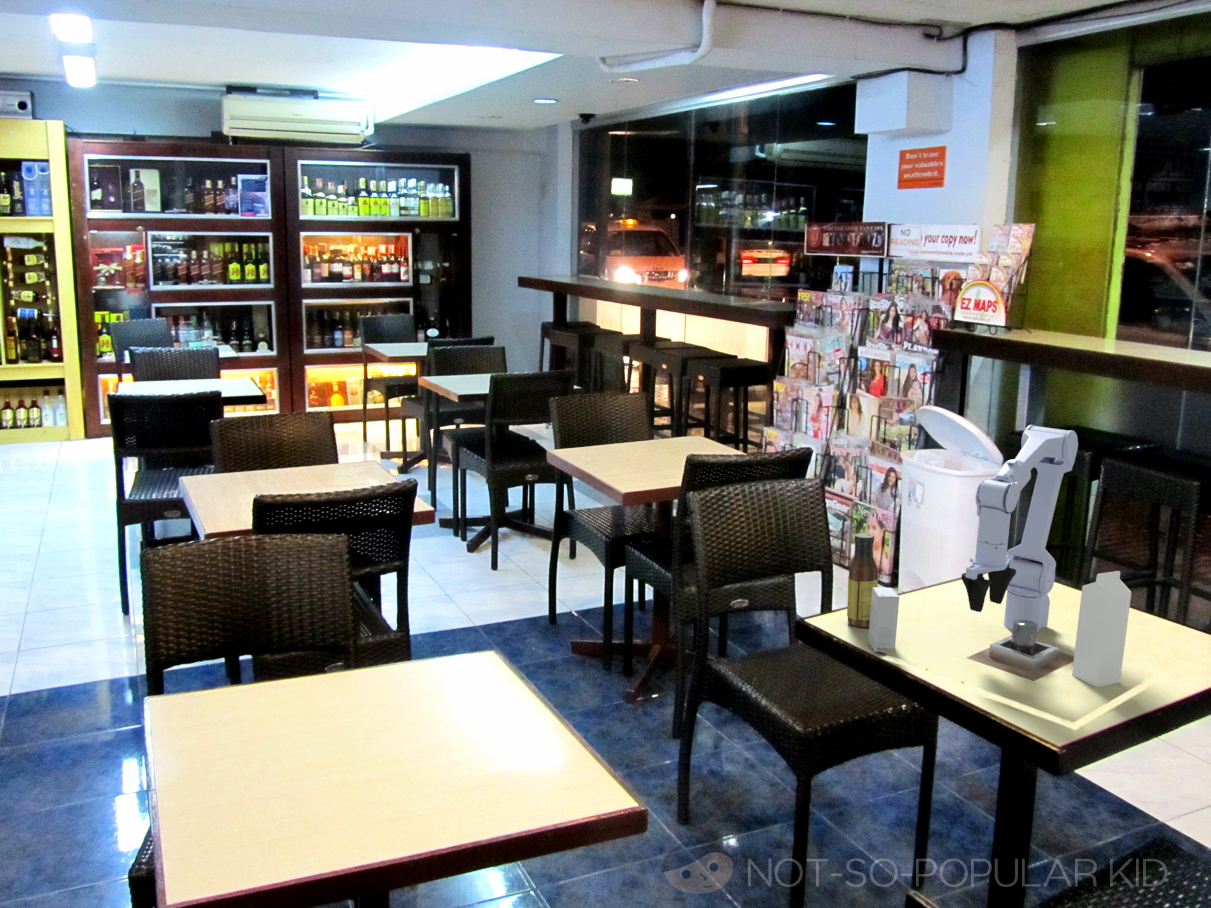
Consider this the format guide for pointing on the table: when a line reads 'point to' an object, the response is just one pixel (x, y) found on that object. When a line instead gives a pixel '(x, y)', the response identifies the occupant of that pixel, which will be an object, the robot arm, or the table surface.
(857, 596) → the sauce bottle
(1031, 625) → the cylinder
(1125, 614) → the milk
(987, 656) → the walnut base plate
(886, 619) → the skincare box
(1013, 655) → the square metal frame
